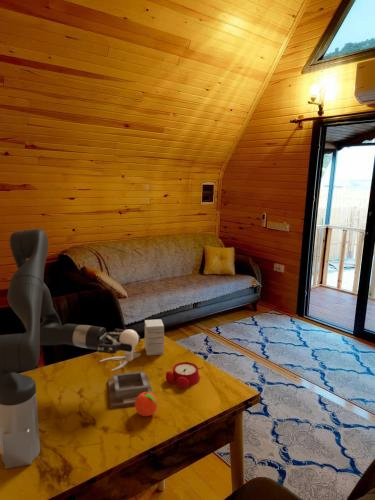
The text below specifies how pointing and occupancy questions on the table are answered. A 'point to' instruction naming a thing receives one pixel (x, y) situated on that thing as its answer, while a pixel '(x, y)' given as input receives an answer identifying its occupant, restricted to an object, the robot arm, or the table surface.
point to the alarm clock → (183, 375)
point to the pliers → (121, 361)
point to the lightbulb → (129, 342)
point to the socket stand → (127, 388)
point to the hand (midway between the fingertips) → (135, 343)
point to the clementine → (146, 404)
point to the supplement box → (154, 337)
